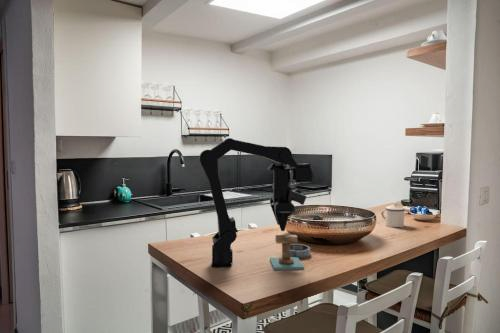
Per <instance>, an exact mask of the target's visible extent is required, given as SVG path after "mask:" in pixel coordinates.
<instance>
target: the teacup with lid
mask: <svg viewBox="0 0 500 333" xmlns="http://www.w3.org/2000/svg"><path fill="white" fill-rule="evenodd" d="M405 210H406V209H405V207H403V206H401V205H399V204H398V203H397V202H393V203H392V204H391V205H388V206H385V209H383V210H382V211H381V212H380V215H381V218H382V219H384V221H385V223H384V224H385V226H387V227H388V226H389V228H395V227H401V228H403V227H404V226H405ZM384 213H385V215H384Z"/></svg>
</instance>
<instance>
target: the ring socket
mask: <svg viewBox="0 0 500 333" xmlns="http://www.w3.org/2000/svg"><path fill="white" fill-rule="evenodd" d="M290 257H298V258H299V259H304V258H305V259H306V258H308V257H309V258H310V257H311V247H310V246H309V245H306V244H301V243H291V244H290Z"/></svg>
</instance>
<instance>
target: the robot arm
mask: <svg viewBox="0 0 500 333" xmlns="http://www.w3.org/2000/svg"><path fill="white" fill-rule="evenodd" d="M230 151H235V152H238V153H244V154H247V155H255V156H259V157H262V158H265V159H267V160H269V161H272V163H271V164H270V165H269V166H268V167H267V170H269V171H273V172H272V173H273V177H272V179H273V180H272V183H273V184H272V195H270V197H269V204H270V205H269V206H270V207H271V212H272V213H273V215H274V217H275V221H276V224H277V226H279V229H280V231H281V232H285V229H286V227H287V222H288V219H289V216H291V215H293V214H294V212H295V205H294V204H293V203H292V201H293V202H296V203H298V204H300V205H302V206H304V205H305V202H306V200H307V195H305V194H303V193H302V191H301V190H300V189H297V188H296V189H294V190H293V189H292V188H293V187H292V186H291V181H293V183H295V184H303V183H304V184H307V183H309V184H311V183H312V182H313V175H314V174H313V170H312V167H311V163H310V162H309V163H297V161H296V160H295V159H294V157H293V153H292V151H291V149H290V148H289V147H286V146H271V145H270V146H268V145H267V146H266V145H261V144H256V143H251V142H247V141H243V140H237V139H234V138H233V137H230V138H229V137H228V138H226V139H224V140H223V141H222V142H220V143H219V144H217V145H215V146H214V147H213V148H211V149H205V150H202V151H201V152H200V154H199V161H200V164H201V166H202V168H203V171H204V173H205V176H206V177H207V181H208V185H209V188H210V193H211V196H212V201H213V204H214V207H215V208H214V209H215V212H216V216H217V232H216V233H215V234H214V235H213V236H212V245H211V267H212V268H224V267H225V268H226V267H227V268H228V267H232V264H233V255H234V254H233V249H232V246H231V245H232V243H234V242H235V241H236V240H237V238H238V237H237V236H238V234H237V233H239V231H238V228H237V225H236V224H237V223H236V219H235V218H234V216H232V217H230V216H229V214H228V213H229V212H228V208H227V206H226V201H225V198H224V192H223V190H222V186H221V182H220V178H219V163H218V162H219V161H218V159H220V158H222V157H223V156H225V155H226V154H227V153H228V152H230ZM274 162H275V163H277V164H279V165H277V164H275V163H274ZM285 166H288V167H285Z"/></svg>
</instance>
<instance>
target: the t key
mask: <svg viewBox="0 0 500 333" xmlns="http://www.w3.org/2000/svg"><path fill="white" fill-rule="evenodd" d="M298 241H299V240H298V235H296V234H275V243H276V244H281V248H282V249H281V256H280V257H278V258H279V263H280V264H284V265H290V264H293V263H294V259H293V258H292V257H290V244H298Z"/></svg>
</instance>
